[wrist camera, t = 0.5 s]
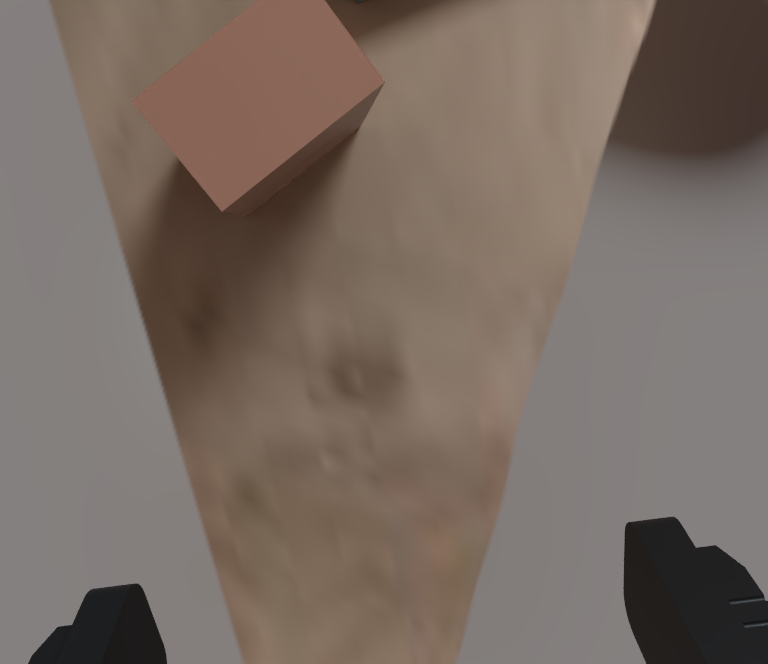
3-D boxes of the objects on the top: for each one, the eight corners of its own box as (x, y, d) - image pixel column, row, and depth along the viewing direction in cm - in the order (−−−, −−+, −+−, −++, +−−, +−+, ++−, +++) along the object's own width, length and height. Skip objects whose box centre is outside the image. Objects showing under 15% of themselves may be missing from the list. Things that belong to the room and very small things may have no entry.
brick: (186, 140, 34) (131, 101, 23) (301, 49, 34) (300, -34, 23) (247, 216, 35) (221, 211, 24) (360, 126, 35) (384, 81, 24)
